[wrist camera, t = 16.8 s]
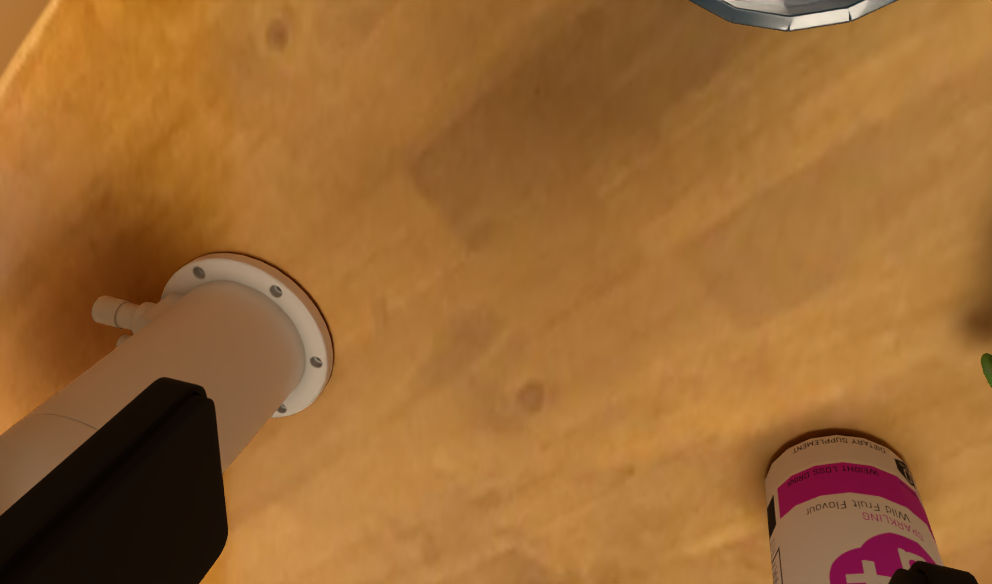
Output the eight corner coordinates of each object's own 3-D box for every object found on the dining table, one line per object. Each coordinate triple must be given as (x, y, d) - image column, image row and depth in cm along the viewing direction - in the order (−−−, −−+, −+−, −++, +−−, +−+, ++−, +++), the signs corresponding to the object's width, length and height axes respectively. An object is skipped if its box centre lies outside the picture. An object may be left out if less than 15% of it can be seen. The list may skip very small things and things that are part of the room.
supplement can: (805, 407, 43) (843, 625, 30) (942, 463, 42) (1042, 710, 29) (740, 499, 47) (750, 725, 34) (864, 551, 46) (921, 801, 34)
